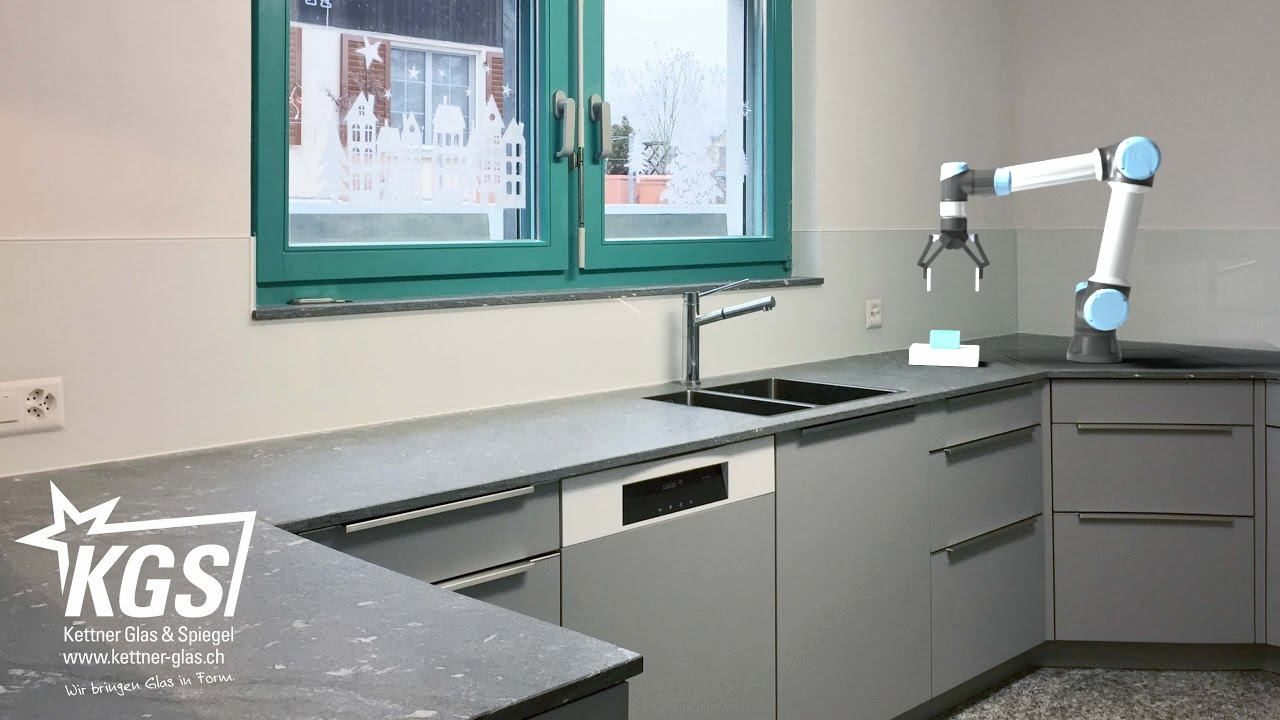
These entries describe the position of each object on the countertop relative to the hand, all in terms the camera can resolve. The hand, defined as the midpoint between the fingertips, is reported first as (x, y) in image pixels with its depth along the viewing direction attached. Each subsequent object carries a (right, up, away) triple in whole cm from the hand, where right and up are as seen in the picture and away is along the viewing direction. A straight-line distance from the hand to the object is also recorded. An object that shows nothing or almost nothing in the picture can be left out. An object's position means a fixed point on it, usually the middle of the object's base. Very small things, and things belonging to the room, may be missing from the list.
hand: (952, 290), depth 351 cm
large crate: (-2, -21, +1) cm, 21 cm away
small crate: (-2, -20, +1) cm, 20 cm away
